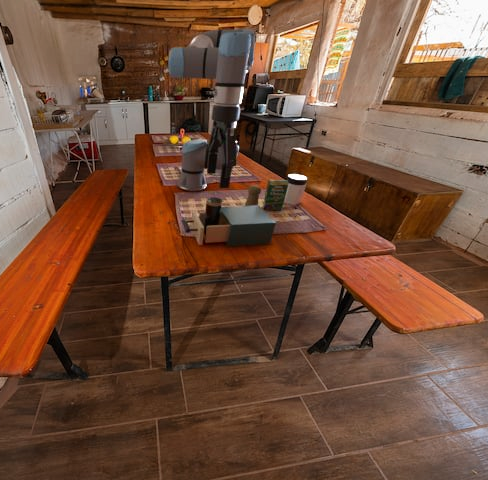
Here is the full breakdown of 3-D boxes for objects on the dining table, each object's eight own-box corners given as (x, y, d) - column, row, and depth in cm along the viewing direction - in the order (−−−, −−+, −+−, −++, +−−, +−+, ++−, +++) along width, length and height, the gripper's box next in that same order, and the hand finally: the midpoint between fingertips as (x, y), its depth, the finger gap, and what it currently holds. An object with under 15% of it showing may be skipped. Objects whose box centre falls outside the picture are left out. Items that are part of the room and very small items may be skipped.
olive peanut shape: (255, 214, 109) (260, 190, 103) (241, 210, 112) (246, 186, 106) (259, 209, 114) (264, 185, 108) (245, 205, 116) (250, 182, 110)
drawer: (186, 246, 86) (187, 228, 83) (180, 227, 96) (181, 211, 93) (239, 242, 89) (242, 225, 85) (227, 225, 99) (230, 209, 95)
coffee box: (262, 209, 113) (269, 181, 106) (261, 206, 116) (268, 178, 109) (281, 211, 112) (289, 182, 105) (280, 208, 115) (288, 180, 108)
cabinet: (227, 246, 88) (231, 224, 83) (216, 227, 99) (218, 206, 95) (270, 243, 90) (276, 222, 85) (253, 225, 101) (258, 205, 97)
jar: (292, 206, 117) (300, 181, 110) (277, 200, 122) (283, 176, 116) (303, 202, 121) (311, 177, 114) (288, 196, 127) (295, 172, 120)
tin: (201, 228, 94) (204, 197, 87) (215, 228, 95) (219, 196, 88) (205, 236, 89) (208, 203, 83) (219, 235, 90) (224, 203, 83)
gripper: (202, 101, 80) (196, 168, 91) (229, 109, 59) (217, 195, 70) (225, 101, 81) (216, 168, 92) (259, 110, 60) (243, 194, 71)
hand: (217, 180), depth 81 cm, fingers open, 13 cm apart
